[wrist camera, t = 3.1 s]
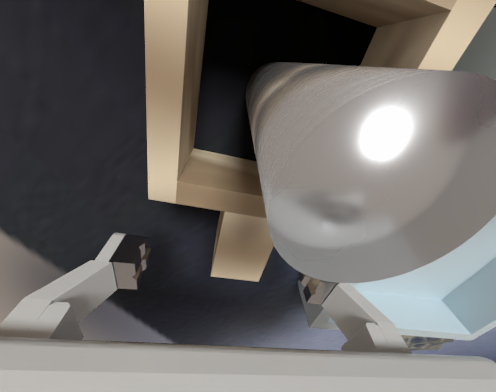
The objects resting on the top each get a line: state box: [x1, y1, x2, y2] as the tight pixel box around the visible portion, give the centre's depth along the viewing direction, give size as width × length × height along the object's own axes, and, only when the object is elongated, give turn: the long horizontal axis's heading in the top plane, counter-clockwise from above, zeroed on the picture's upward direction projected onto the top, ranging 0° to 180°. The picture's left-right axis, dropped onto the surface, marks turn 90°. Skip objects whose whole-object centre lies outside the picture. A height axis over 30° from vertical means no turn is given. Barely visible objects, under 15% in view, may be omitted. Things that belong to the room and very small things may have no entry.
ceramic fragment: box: [401, 335, 454, 351], centre depth 26 cm, size 11×3×10 cm
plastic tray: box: [297, 7, 496, 341], centre depth 14 cm, size 20×16×4 cm
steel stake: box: [245, 62, 496, 283], centre depth 7 cm, size 3×3×10 cm
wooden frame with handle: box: [144, 0, 496, 282], centre depth 11 cm, size 15×10×4 cm, turn 167°
